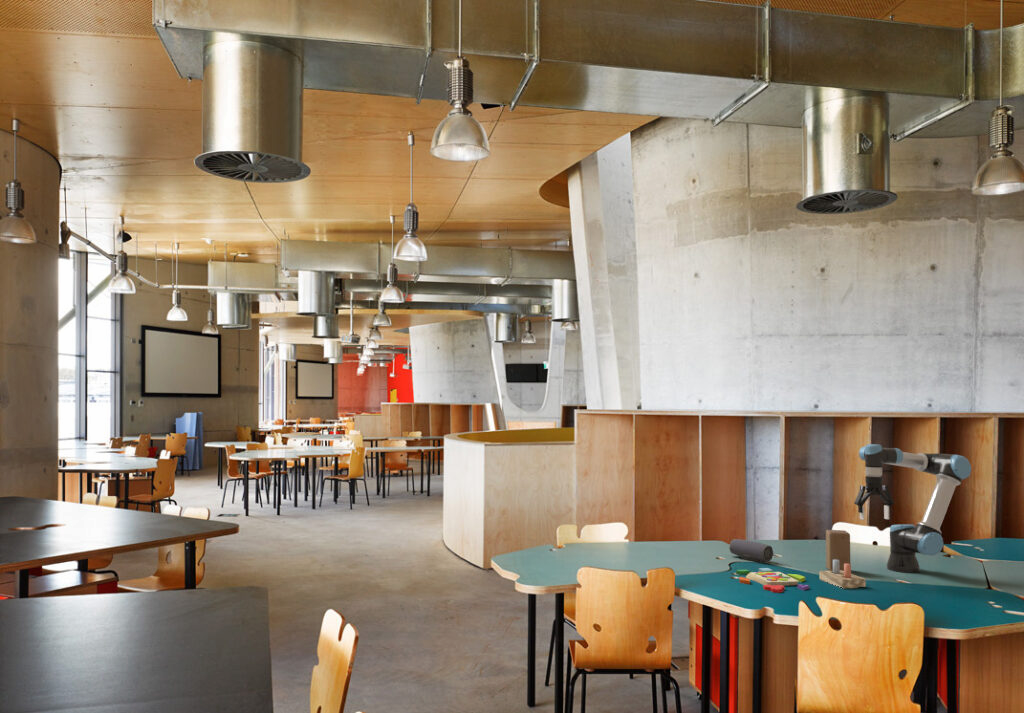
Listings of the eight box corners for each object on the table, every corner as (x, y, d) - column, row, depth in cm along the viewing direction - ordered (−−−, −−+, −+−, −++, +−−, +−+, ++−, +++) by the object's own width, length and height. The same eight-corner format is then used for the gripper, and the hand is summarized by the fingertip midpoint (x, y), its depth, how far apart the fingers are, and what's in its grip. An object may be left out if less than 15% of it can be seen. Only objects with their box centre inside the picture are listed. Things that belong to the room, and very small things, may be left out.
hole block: (841, 578, 370) (841, 570, 370) (865, 587, 352) (865, 578, 352) (819, 579, 367) (819, 571, 368) (842, 588, 350) (842, 579, 350)
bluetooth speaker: (774, 562, 406) (774, 543, 406) (763, 564, 400) (763, 545, 401) (739, 555, 424) (739, 537, 425) (728, 556, 419) (728, 538, 420)
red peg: (848, 584, 357) (848, 563, 357) (852, 586, 354) (852, 564, 354) (842, 585, 356) (842, 563, 357) (846, 586, 353) (846, 564, 354)
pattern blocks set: (718, 576, 374) (718, 569, 374) (771, 571, 387) (771, 564, 387) (772, 594, 338) (772, 587, 339) (829, 588, 352) (829, 581, 352)
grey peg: (837, 580, 366) (836, 559, 366) (841, 581, 363) (840, 560, 363) (831, 580, 365) (831, 559, 366) (835, 582, 362) (835, 560, 363)
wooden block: (851, 573, 381) (850, 533, 382) (829, 572, 383) (829, 532, 384) (846, 569, 391) (845, 530, 392) (825, 568, 393) (825, 529, 394)
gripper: (891, 474, 380) (891, 517, 379) (846, 475, 375) (847, 518, 374) (901, 476, 372) (902, 519, 371) (856, 476, 368) (856, 520, 366)
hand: (874, 519), depth 372 cm, fingers open, 13 cm apart
